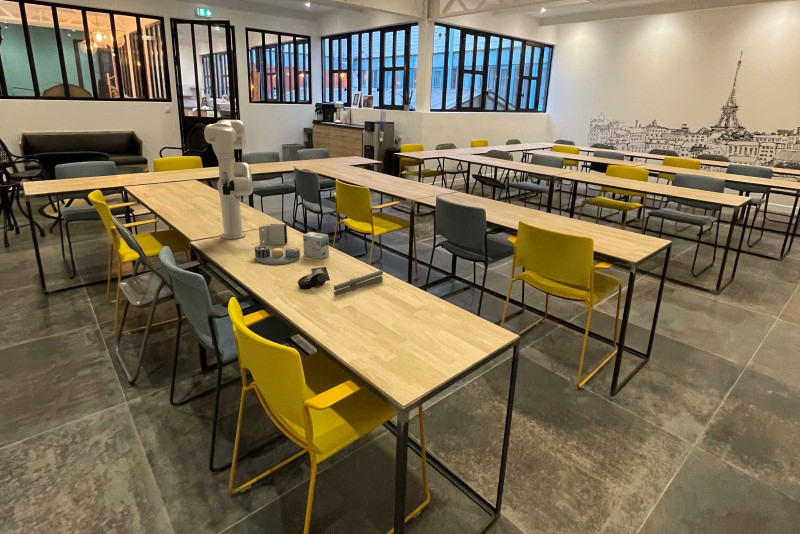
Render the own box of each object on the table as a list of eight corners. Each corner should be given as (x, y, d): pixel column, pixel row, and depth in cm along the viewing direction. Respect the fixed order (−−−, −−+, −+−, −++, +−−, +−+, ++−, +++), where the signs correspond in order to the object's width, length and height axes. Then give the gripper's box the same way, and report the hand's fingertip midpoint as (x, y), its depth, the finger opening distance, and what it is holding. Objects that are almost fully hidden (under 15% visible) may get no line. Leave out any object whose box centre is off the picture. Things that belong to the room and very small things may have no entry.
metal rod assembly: (378, 279, 200) (379, 268, 198) (383, 281, 198) (383, 270, 196) (332, 295, 182) (332, 284, 180) (336, 298, 180) (336, 286, 178)
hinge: (260, 245, 236) (258, 226, 233) (259, 242, 241) (258, 224, 238) (287, 244, 240) (286, 225, 237) (287, 241, 245) (286, 223, 242)
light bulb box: (329, 255, 226) (329, 234, 222) (321, 259, 220) (321, 237, 217) (311, 251, 230) (310, 231, 226) (303, 255, 224) (302, 234, 221)
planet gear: (256, 253, 222) (256, 245, 220) (271, 253, 223) (270, 245, 221) (254, 258, 215) (253, 250, 214) (268, 258, 216) (268, 250, 215)
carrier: (259, 251, 228) (259, 242, 227) (301, 251, 231) (301, 242, 229) (252, 265, 210) (251, 255, 208) (298, 264, 212) (297, 255, 211)
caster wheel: (298, 295, 187) (305, 282, 196) (324, 292, 185) (330, 279, 193) (293, 281, 184) (300, 269, 192) (319, 278, 182) (326, 266, 190)
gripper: (221, 153, 222) (225, 189, 228) (212, 158, 206) (216, 196, 212) (237, 154, 223) (240, 189, 229) (230, 158, 207) (233, 196, 213)
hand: (229, 192), depth 220 cm, fingers open, 9 cm apart
